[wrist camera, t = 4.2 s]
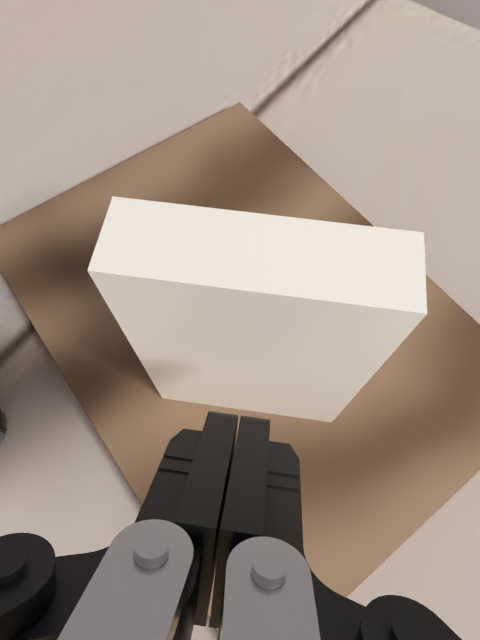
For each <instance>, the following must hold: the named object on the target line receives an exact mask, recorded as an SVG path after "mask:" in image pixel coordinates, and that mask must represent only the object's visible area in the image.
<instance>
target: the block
mask: <svg viewBox="0 0 480 640" xmlns="http://www.w3.org/2000/svg"><path fill="white" fill-rule="evenodd" d="M87 271H88V273H89V274H90V276H91V278H92V280H93V281H94V283H95V285H96V286H97V288H98V290H99V291H100V293H101V295H102V297H103V298H104V300H105V302H106V303H107V305H108V307H109V309H110V310H111V312H112V314H113V315H114V317H115V319H116V320H117V322H118V324H119V326H120V327H121V329H122V331H123V332H124V334H125V336H126V337H127V339H128V341H129V343H130V344H131V346H132V348H133V349H134V351H135V353H136V354H137V356H138V358H139V360H140V361H141V363H142V365H143V366H144V368H145V370H146V371H147V373H148V375H149V377H150V378H151V380H152V382H153V383H154V385H155V387H156V388H157V390H158V392H159V394H160V395H161V397H162V398H164V399H171V400H178V401H185V402H192V403H199V404H206V405H213V406H220V407H227V408H234V409H241V410H248V411H255V412H262V413H269V414H276V415H283V416H290V417H297V418H304V419H311V420H318V421H325V422H332V421H333V420H334V419H335V418H336V417H337V416H338V415H339V413H340V412H341V411H342V410H343V409H344V408H345V407H346V405H347V404H348V403H349V402H350V401H351V400H352V399H353V398H354V396H355V395H356V394H357V393H358V392H359V391H360V390H361V388H362V387H363V386H364V385H365V384H366V383H367V382H368V381H369V379H370V378H371V377H372V376H373V375H374V374H375V373H376V371H377V370H378V369H379V368H380V367H381V366H382V365H383V363H384V362H385V361H386V360H387V359H388V358H389V357H390V356H391V354H392V353H393V352H394V351H395V350H396V349H397V348H398V346H399V345H400V344H401V343H402V342H403V341H404V340H405V338H406V337H407V336H408V335H409V334H410V333H411V332H412V331H413V329H414V328H415V327H416V326H417V325H418V324H419V323H420V321H421V320H422V319H423V318H424V317H425V316H426V315H427V295H426V272H425V249H424V232H415V231H406V230H398V229H389V228H381V227H372V226H363V225H355V224H346V223H338V222H329V221H320V220H312V219H303V218H295V217H286V216H277V215H269V214H260V213H252V212H243V211H234V210H226V209H217V208H209V207H200V206H191V205H183V204H174V203H166V202H157V201H148V200H140V199H131V198H123V197H114V196H112V199H111V202H110V205H109V208H108V211H107V214H106V217H105V220H104V223H103V226H102V229H101V232H100V235H99V238H98V241H97V243H96V246H95V249H94V252H93V255H92V258H91V261H90V264H89V267H88V270H87Z"/></svg>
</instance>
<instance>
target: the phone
mask: <svg viewBox="0 0 480 640" xmlns="http://www.w3.org/2000/svg"><path fill="white" fill-rule="evenodd" d="M6 429H7V420H6V417H5V414H4V413H3V412H2V410H1V409H0V442H1V441H2V440H3V438H4V435H5V432H6Z"/></svg>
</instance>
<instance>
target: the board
mask: <svg viewBox="0 0 480 640" xmlns="http://www.w3.org/2000/svg"><path fill="white" fill-rule="evenodd" d="M112 196H114V197H123V198H131V199H140V200H148V201H157V202H166V203H174V204H183V205H191V206H200V207H209V208H217V209H226V210H234V211H243V212H252V213H260V214H269V215H277V216H286V217H295V218H303V219H312V220H320V221H329V222H338V223H346V224H355V225H363V226H372V227H374V226H373V225H372V224H371V223H369V222H368V221H367V220H366V219H365V218H364V217H363V216H362V215H361V214H360V213H359V212H358V211H357V210H355V209H354V208H353V207H352V206H351V205H350V204H349V203H348V202H347V201H346V200H345V199H344V198H343V197H341V196H340V195H339V194H338V193H337V192H336V191H335V190H334V189H333V188H332V187H331V186H330V185H328V184H327V183H326V182H325V181H324V180H323V179H322V178H321V177H320V176H319V175H318V174H317V173H316V172H314V171H313V170H312V169H311V168H310V167H309V166H308V165H307V164H306V163H305V162H304V161H303V160H302V159H300V158H299V157H298V156H297V155H296V154H295V153H294V152H293V151H292V150H291V149H290V148H289V147H288V146H286V145H285V144H284V143H283V142H282V141H281V140H280V139H279V138H278V137H277V136H276V135H275V134H274V133H272V132H271V131H270V130H269V129H268V128H267V127H266V126H265V125H264V124H263V123H262V122H261V121H259V120H258V119H257V118H256V117H255V116H254V115H253V114H252V113H251V112H250V111H249V110H248V109H247V108H245V107H244V106H243V105H242V104H241V103H240V102H239V103H237V104H236V105H234V106H232V107H230V108H228V109H226V110H224V111H222V112H220V113H218V114H216V115H214V116H212V117H210V118H208V119H207V120H205V121H203V122H201V123H199V124H197V125H195V126H193V127H191V128H189V129H187V130H185V131H183V132H181V133H179V134H177V135H176V136H174V137H172V138H170V139H168V140H166V141H164V142H162V143H160V144H158V145H156V146H154V147H152V148H150V149H148V150H147V151H145V152H143V153H141V154H139V155H137V156H135V157H133V158H131V159H129V160H127V161H125V162H123V163H121V164H119V165H118V166H116V167H114V168H112V169H110V170H108V171H106V172H104V173H102V174H100V175H98V176H96V177H94V178H92V179H90V180H88V181H87V182H85V183H83V184H81V185H79V186H77V187H75V188H73V189H71V190H69V191H67V192H65V193H63V194H61V195H59V196H58V197H56V198H54V199H52V200H50V201H48V202H46V203H44V204H42V205H40V206H38V207H36V208H34V209H32V210H30V211H29V212H27V213H25V214H23V215H21V216H19V217H17V218H15V219H13V220H11V221H9V222H7V223H5V224H3V225H1V226H0V271H1V273H2V275H3V276H4V278H5V280H6V281H7V283H8V285H9V286H10V288H11V290H12V291H13V293H14V295H15V296H16V298H17V300H18V301H19V303H20V305H21V306H22V308H23V309H24V311H25V313H26V314H27V316H28V318H29V319H30V321H31V323H32V324H33V326H34V328H35V329H36V331H37V333H38V334H39V336H40V338H41V339H42V341H43V343H44V344H45V346H46V348H47V349H48V351H49V353H50V354H51V356H52V357H53V359H54V361H55V362H56V364H57V366H58V367H59V369H60V371H61V372H62V374H63V376H64V377H65V379H66V381H67V382H68V384H69V386H70V387H71V389H72V391H73V392H74V394H75V396H76V397H77V399H78V401H79V402H80V404H81V405H82V407H83V409H84V410H85V412H86V414H87V415H88V417H89V419H90V420H91V422H92V424H93V425H94V427H95V429H96V430H97V432H98V434H99V435H100V437H101V439H102V440H103V442H104V444H105V445H106V447H107V449H108V450H109V452H110V453H111V455H112V457H113V458H114V460H115V462H116V463H117V465H118V467H119V468H120V470H121V472H122V473H123V475H124V477H125V478H126V480H127V482H128V483H129V485H130V487H131V488H132V490H133V492H134V493H135V495H136V497H137V498H138V500H139V501H140V503H141V505H143V502H144V500H145V497H146V495H147V493H148V490H149V488H150V486H151V483H152V481H153V479H154V476H155V474H156V471H158V467H159V464H160V462H161V460H162V458H163V455H164V452H165V450H166V448H167V445H168V443H169V441H170V439H172V438H173V437H174V436H175V435H176V434H178V433H179V432H180V431H181V430H182V429H184V428H185V429H191V430H198V431H202V430H203V427H204V424H205V421H206V418H207V414H208V412H209V411H214V412H221V413H228V414H235V415H238V425H237V433H236V439H237V434H238V428H239V422H240V417H241V415H243V416H250V417H257V418H263V419H270V435H269V441H274V442H281V443H288V444H290V445H291V446H292V448H293V450H294V451H295V453H296V454H297V456H298V458H299V460H300V482H301V504H302V526H303V548H304V555H305V558H306V561H307V563H308V565H309V567H310V569H311V570H312V571H313V573H314V574H315V575H316V577H317V578H318V579H319V580H320V581H321V582H322V583H323V584H325V585H326V586H327V587H328V588H330V589H331V590H333V591H334V592H336V593H338V594H340V595H342V596H344V597H347V596H348V595H349V594H350V593H352V592H353V591H354V590H355V589H356V588H357V587H358V586H359V585H360V584H361V583H362V582H363V581H364V580H365V579H366V578H367V577H368V576H369V575H370V574H371V573H372V572H374V571H375V570H376V569H377V568H378V567H379V566H380V565H381V564H382V563H383V562H384V561H385V560H386V559H387V558H388V557H389V556H390V555H391V554H392V553H393V552H394V551H396V550H397V549H398V548H399V547H400V546H401V545H402V544H403V543H404V542H405V541H406V540H407V539H408V538H409V537H410V536H411V535H412V534H413V533H414V532H415V531H416V530H418V529H419V528H420V527H421V526H422V525H423V524H424V523H425V522H426V521H427V520H428V519H429V518H430V517H431V516H432V515H433V514H434V513H435V512H436V511H437V510H438V509H440V508H441V507H442V506H443V505H444V504H445V503H446V502H447V501H448V500H449V499H450V498H451V497H452V496H453V495H454V494H455V493H456V492H457V491H458V490H459V489H461V488H462V487H463V486H464V485H465V484H466V483H467V482H468V481H469V480H470V479H471V478H472V477H473V476H474V475H475V474H476V473H477V472H478V471H479V470H480V325H479V324H478V323H477V322H476V321H475V320H474V319H473V318H472V317H471V316H470V315H469V314H468V313H466V312H465V311H464V310H463V309H462V308H461V307H460V306H459V305H458V304H457V303H456V302H455V301H454V300H452V299H451V298H450V297H449V296H448V295H447V294H446V293H445V292H444V291H443V290H442V289H441V288H440V287H438V286H437V285H436V284H435V283H434V282H433V281H432V280H431V279H430V278H429V277H428V276H427V275H426V295H427V315H426V316H425V317H424V318H423V319H422V320H421V321H420V323H419V324H418V325H417V326H416V327H415V328H414V329H413V331H412V332H411V333H410V334H409V335H408V336H407V337H406V338H405V340H404V341H403V342H402V343H401V344H400V345H399V346H398V348H397V349H396V350H395V351H394V352H393V353H392V354H391V356H390V357H389V358H388V359H387V360H386V361H385V362H384V363H383V365H382V366H381V367H380V368H379V369H378V370H377V371H376V373H375V374H374V375H373V376H372V377H371V378H370V379H369V381H368V382H367V383H366V384H365V385H364V386H363V387H362V388H361V390H360V391H359V392H358V393H357V394H356V395H355V396H354V398H353V399H352V400H351V401H350V402H349V403H348V404H347V405H346V407H345V408H344V409H343V410H342V411H341V412H340V413H339V415H338V416H337V417H336V418H335V419H334V420H333V421H332V422H325V421H318V420H311V419H304V418H297V417H290V416H283V415H276V414H269V413H262V412H255V411H248V410H241V409H234V408H227V407H220V406H213V405H206V404H199V403H192V402H185V401H178V400H171V399H164V398H162V397H161V395H160V394H159V392H158V390H157V388H156V387H155V385H154V383H153V382H152V380H151V378H150V377H149V375H148V373H147V371H146V370H145V368H144V366H143V365H142V363H141V361H140V360H139V358H138V356H137V354H136V353H135V351H134V349H133V348H132V346H131V344H130V343H129V341H128V339H127V337H126V336H125V334H124V332H123V331H122V329H121V327H120V326H119V324H118V322H117V320H116V319H115V317H114V315H113V314H112V312H111V310H110V309H109V307H108V305H107V303H106V302H105V300H104V298H103V297H102V295H101V293H100V291H99V290H98V288H97V286H96V285H95V283H94V281H93V280H92V278H91V276H90V274H89V273H88V271H87V270H88V267H89V264H90V261H91V258H92V255H93V252H94V249H95V246H96V243H97V241H98V238H99V235H100V232H101V229H102V226H103V223H104V220H105V217H106V214H107V211H108V208H109V205H110V202H111V199H112ZM235 445H236V441H235ZM215 571H216V569H215ZM214 580H215V575H214ZM213 588H214V581H213V586H212V592H211V598H210V603H209V609H208V616H209V617H210V615H211V606H212V597H213ZM216 629H217V631H218V628H216Z"/></svg>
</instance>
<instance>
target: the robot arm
mask: <svg viewBox="0 0 480 640" xmlns="http://www.w3.org/2000/svg"><path fill="white" fill-rule="evenodd" d="M237 425H238V415H235V414H228V413H221V412H214V411H209V412H208V414H207V418H206V421H205V424H204V427H203V430H202V431H198V430H191V429H185V428H184V429H182V430H181V431H180V432H179V433H178V434H176V435H175V436H174V437H173V438H172V439H170V441H169V443H168V445H167V448H166V450H165V452H164V455H163V458H162V460H161V462H160V464H159V467H158V471H156V474H155V476H154V479H153V481H152V483H151V486H150V488H149V490H148V493H147V495H146V497H145V500H144V502H143V505H142V507H141V509H140V512H139V514H138V516H137V519H136V521H135V523H134V524H132V525H130V526H128V527H126V528H125V529H123V530H122V531H121V532H120V533H119V534H118V535H117V536H116V537H115V538H114V540H113V541H112V543H111V544H110V546H109V547H106V548H104V549H101V550H98V551H95V552H90V553H83V554H75V555H67V556H59V557H55V553H54V549H53V547H52V546H51V544H50V543H49V542H48V541H47V540H46V539H44V538H43V537H40V536H38V535H35V534H30V533H14V534H8V535H4V536H1V537H0V640H191V635H192V630H193V625H200V626H206V621H207V615H208V609H209V603H210V598H211V592H212V586H213V581H214V588H213V597H212V606H211V615H210V623H209V627H213V628H218V636H217V640H462V639H460V638H459V637H458V636H457V635H456V634H455V633H454V632H453V631H452V630H451V629H450V628H449V627H448V626H447V625H446V624H445V623H444V622H443V621H442V620H441V619H440V618H439V617H438V616H437V615H436V614H434V613H433V612H432V611H431V610H429V609H428V608H427V607H425V606H424V605H422V604H420V603H418V602H416V601H414V600H412V599H409V598H406V597H402V596H396V595H385V596H381V597H378V598H376V599H374V600H372V601H371V602H370V603H369V604H368V605H367V607H365V606H363V605H360V604H358V603H356V602H354V601H352V600H350V599H348V598H346V597H344V596H342V595H340V594H338V593H336V592H334V591H333V590H331V589H330V588H328V587H327V586H326V585H325V584H323V583H322V582H321V581H320V580H319V579H318V578H317V577H316V575H315V574H314V573H313V571H312V570H311V569H310V567H309V565H308V563H307V561H306V558H305V555H304V548H303V526H302V504H301V482H300V460H299V458H298V456H297V454H296V453H295V451H294V450H293V448H292V446H291V445H290V444H288V443H281V442H274V441H269V435H270V419H263V418H257V417H250V416H243V415H241V417H240V422H239V428H238V434H237V439H236V433H237ZM235 441H236V445H235ZM215 569H216V571H215ZM214 575H215V580H214Z"/></svg>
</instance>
